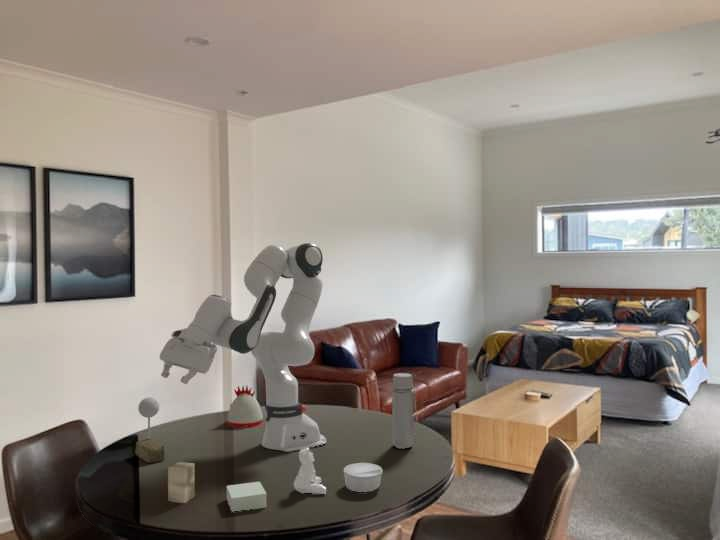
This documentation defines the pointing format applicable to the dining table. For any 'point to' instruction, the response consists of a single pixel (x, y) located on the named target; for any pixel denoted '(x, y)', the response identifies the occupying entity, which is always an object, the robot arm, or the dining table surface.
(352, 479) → the ramekin
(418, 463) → the dining table surface
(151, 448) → the stone block
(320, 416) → the dining table surface
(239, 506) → the sage block
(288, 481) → the dining table surface
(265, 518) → the dining table surface
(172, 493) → the birch block
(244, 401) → the kitchen timer
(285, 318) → the robot arm
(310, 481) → the seated beast figurine
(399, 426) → the water bottle
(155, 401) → the lollipop
